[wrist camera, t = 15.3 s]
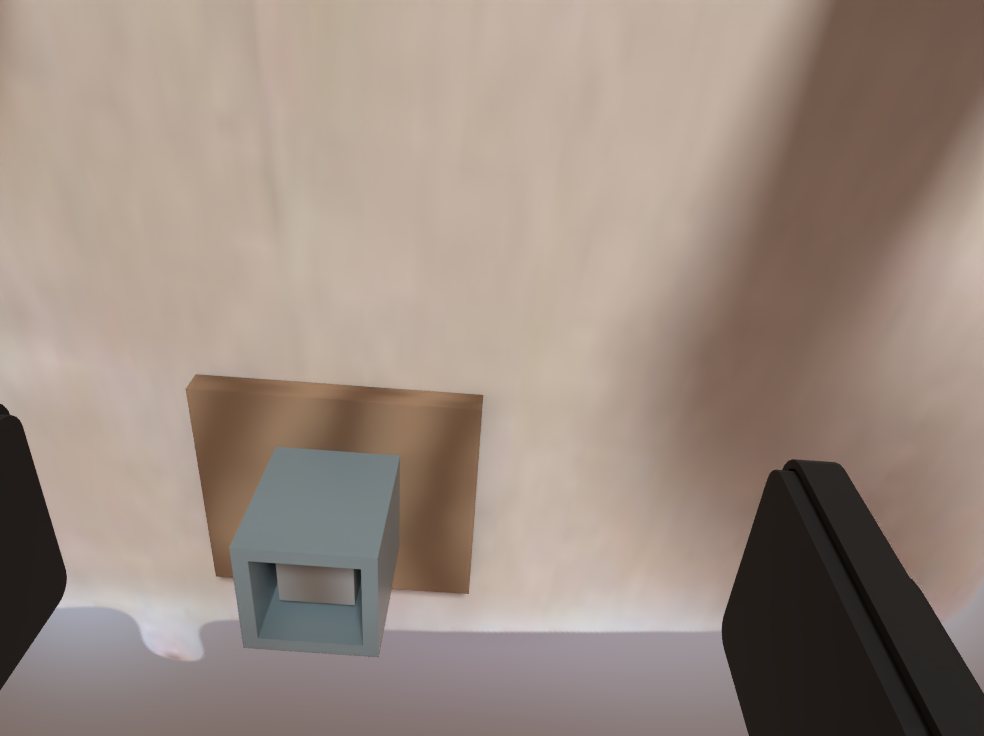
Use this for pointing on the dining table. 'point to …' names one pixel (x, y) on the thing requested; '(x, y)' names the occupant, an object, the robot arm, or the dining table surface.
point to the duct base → (348, 428)
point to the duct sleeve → (318, 549)
